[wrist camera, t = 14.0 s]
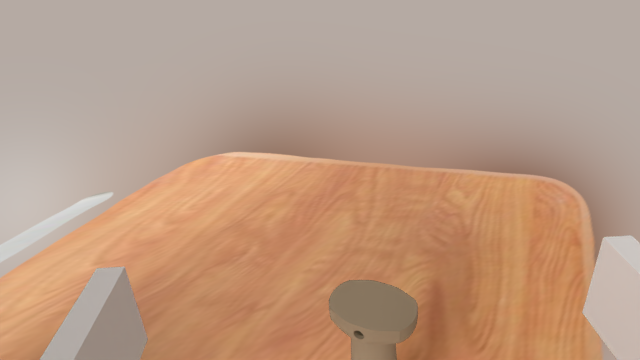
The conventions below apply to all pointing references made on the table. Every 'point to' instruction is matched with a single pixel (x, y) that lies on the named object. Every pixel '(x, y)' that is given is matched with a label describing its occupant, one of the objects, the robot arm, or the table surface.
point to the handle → (373, 317)
